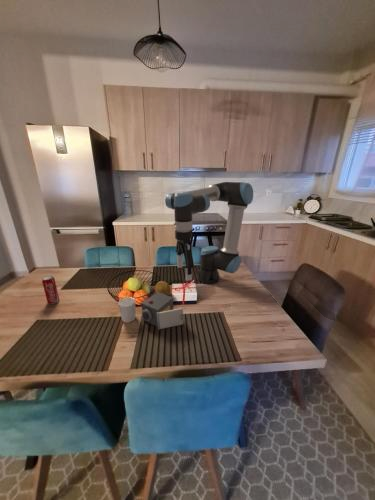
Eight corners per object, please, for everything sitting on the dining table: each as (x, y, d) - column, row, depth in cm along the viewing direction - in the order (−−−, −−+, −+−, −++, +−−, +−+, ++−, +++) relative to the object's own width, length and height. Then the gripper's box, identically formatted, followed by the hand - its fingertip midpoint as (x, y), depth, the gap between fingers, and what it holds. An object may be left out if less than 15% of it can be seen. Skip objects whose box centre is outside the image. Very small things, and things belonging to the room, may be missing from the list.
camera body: (158, 307, 113) (157, 290, 109) (173, 314, 108) (173, 296, 104) (139, 322, 102) (138, 303, 98) (155, 330, 97) (154, 311, 93)
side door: (158, 330, 96) (157, 314, 93) (157, 328, 98) (156, 312, 95) (183, 325, 100) (183, 309, 97) (182, 322, 101) (182, 307, 98)
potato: (171, 277, 127) (156, 276, 126) (170, 289, 114) (153, 288, 114) (170, 290, 130) (155, 289, 130) (169, 303, 118) (153, 302, 117)
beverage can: (48, 306, 114) (42, 282, 109) (46, 300, 119) (40, 277, 113) (60, 301, 118) (55, 278, 112) (58, 296, 122) (52, 274, 117)
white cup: (131, 311, 110) (129, 295, 107) (139, 318, 105) (138, 301, 101) (117, 318, 105) (115, 301, 101) (125, 325, 100) (123, 308, 96)
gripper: (168, 223, 100) (170, 263, 108) (183, 239, 78) (184, 288, 86) (183, 222, 102) (183, 261, 110) (202, 237, 80) (201, 284, 88)
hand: (184, 273), depth 98 cm, fingers open, 13 cm apart
